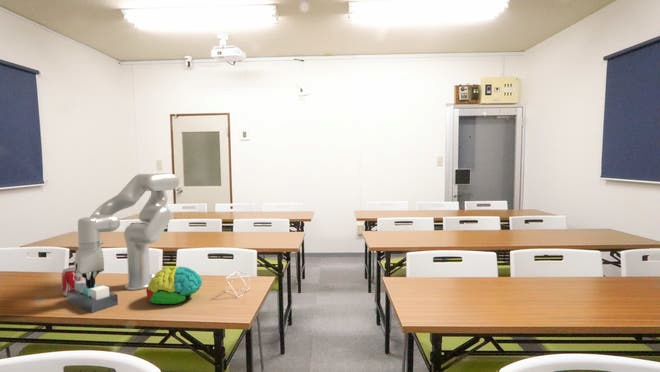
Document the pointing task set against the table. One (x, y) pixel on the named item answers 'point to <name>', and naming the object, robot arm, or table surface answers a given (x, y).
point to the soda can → (69, 280)
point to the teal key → (88, 290)
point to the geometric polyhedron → (242, 279)
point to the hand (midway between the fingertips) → (90, 287)
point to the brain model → (173, 285)
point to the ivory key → (99, 292)
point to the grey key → (80, 286)
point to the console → (91, 301)
